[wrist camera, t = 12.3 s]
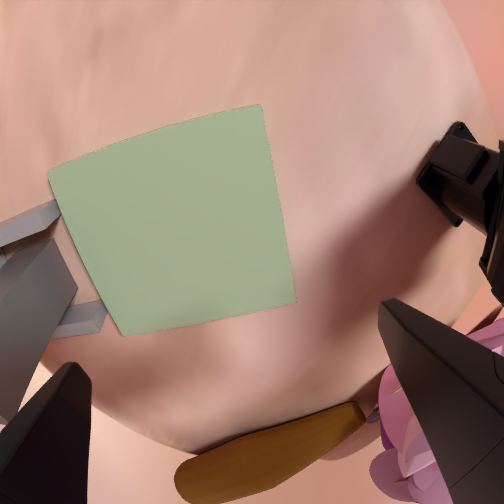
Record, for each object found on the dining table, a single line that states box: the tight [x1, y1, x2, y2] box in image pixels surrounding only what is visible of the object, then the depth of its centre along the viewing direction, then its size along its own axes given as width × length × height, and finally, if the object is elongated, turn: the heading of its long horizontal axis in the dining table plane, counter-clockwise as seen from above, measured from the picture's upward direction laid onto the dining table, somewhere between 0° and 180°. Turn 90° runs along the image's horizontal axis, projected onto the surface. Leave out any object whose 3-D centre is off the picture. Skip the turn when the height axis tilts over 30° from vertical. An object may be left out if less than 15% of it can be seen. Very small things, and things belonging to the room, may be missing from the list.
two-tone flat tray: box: [0, 104, 297, 339], centre depth 19 cm, size 23×14×2 cm, turn 102°
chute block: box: [0, 238, 78, 425], centre depth 15 cm, size 4×4×13 cm
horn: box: [174, 402, 366, 504], centre depth 32 cm, size 8×10×25 cm
